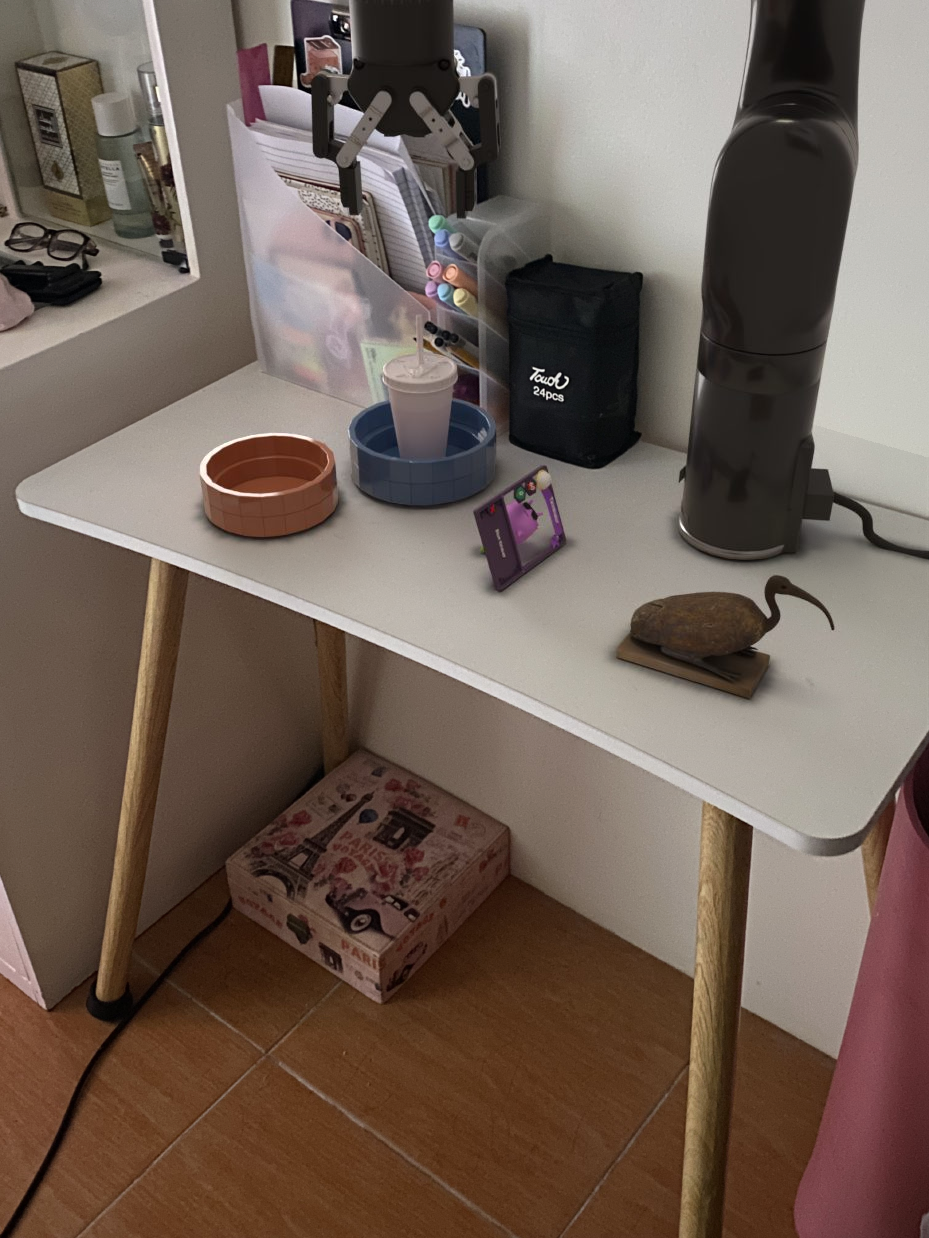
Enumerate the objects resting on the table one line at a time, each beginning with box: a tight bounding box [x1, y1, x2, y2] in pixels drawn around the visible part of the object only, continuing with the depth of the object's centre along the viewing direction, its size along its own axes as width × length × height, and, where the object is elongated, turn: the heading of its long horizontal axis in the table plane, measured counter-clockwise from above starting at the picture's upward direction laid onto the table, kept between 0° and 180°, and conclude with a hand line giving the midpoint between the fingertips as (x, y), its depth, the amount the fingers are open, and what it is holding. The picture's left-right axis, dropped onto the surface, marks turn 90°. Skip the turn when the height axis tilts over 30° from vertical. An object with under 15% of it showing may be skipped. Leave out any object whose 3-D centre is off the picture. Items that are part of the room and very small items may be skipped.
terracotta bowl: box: [198, 432, 339, 538], centre depth 103 cm, size 11×11×4 cm
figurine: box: [615, 574, 836, 699], centre depth 83 cm, size 14×4×9 cm, turn 61°
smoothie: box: [382, 313, 459, 459], centre depth 104 cm, size 6×6×14 cm
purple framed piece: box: [472, 464, 567, 591], centre depth 96 cm, size 7×5×9 cm
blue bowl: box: [347, 397, 497, 506], centre depth 107 cm, size 13×13×4 cm
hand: (409, 214), depth 97 cm, fingers open, 8 cm apart
